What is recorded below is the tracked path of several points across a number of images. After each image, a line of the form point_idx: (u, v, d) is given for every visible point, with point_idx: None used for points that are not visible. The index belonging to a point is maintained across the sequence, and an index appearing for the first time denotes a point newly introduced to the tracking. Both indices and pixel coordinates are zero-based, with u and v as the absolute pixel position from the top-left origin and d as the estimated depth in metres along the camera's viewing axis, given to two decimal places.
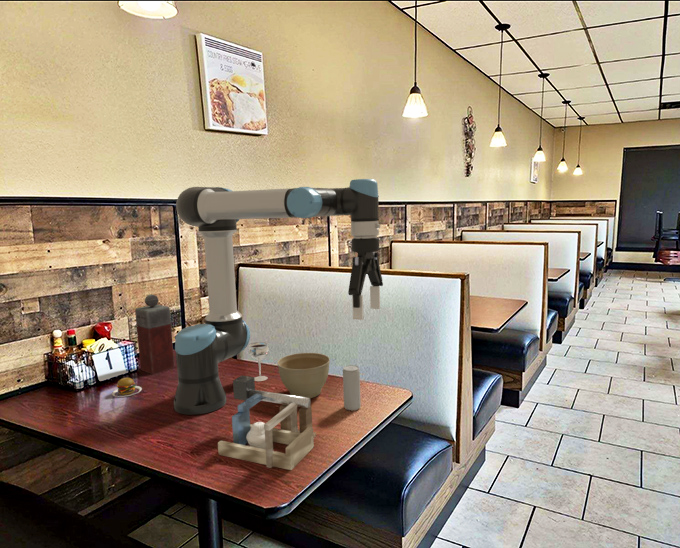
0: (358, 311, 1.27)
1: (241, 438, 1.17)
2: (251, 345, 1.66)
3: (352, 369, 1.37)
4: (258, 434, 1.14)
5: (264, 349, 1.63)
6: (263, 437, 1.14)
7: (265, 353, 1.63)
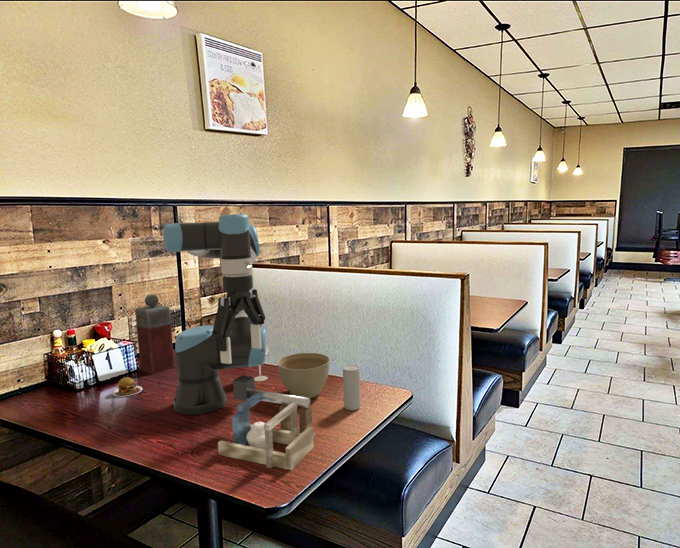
0: (225, 355, 1.19)
1: (241, 438, 1.17)
2: None
3: (352, 369, 1.37)
4: (258, 434, 1.14)
5: None
6: (263, 437, 1.14)
7: None
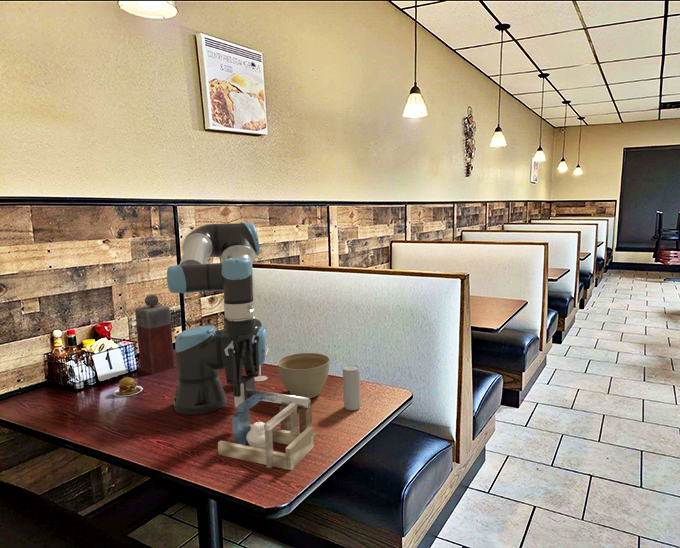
0: (239, 399, 1.26)
1: (241, 438, 1.17)
2: None
3: (352, 369, 1.37)
4: (258, 434, 1.14)
5: None
6: (263, 437, 1.14)
7: None
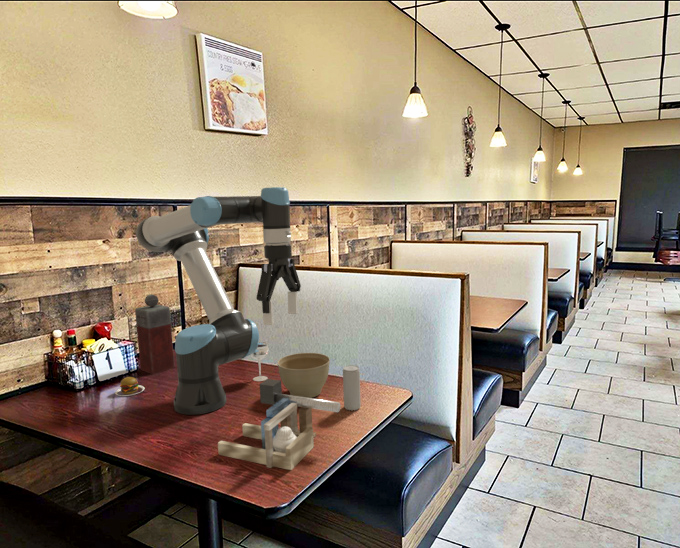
0: (268, 316, 1.30)
1: None
2: None
3: (352, 369, 1.37)
4: (284, 439, 1.11)
5: (264, 349, 1.63)
6: (289, 442, 1.11)
7: (265, 353, 1.63)
